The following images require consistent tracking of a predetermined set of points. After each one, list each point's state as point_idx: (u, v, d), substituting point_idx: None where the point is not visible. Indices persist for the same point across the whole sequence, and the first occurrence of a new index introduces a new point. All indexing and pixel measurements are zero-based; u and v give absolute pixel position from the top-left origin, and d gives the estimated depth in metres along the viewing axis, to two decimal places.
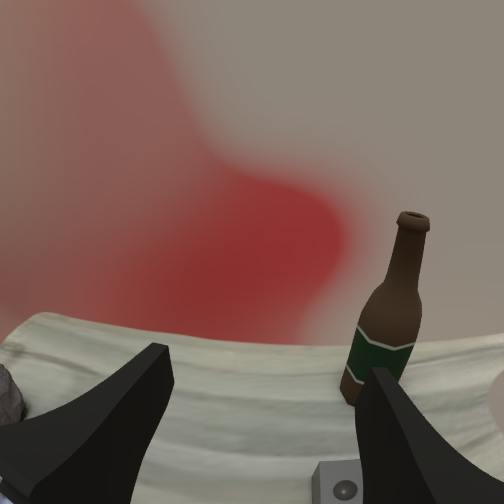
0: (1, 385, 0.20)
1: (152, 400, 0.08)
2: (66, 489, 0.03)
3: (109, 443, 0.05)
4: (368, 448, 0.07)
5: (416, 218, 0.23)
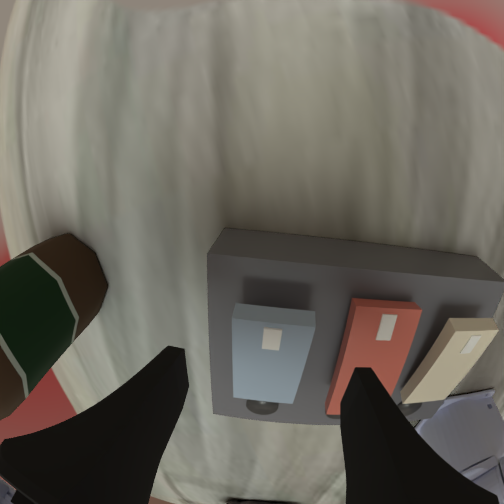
0: None
1: (169, 404, 0.08)
2: (89, 501, 0.03)
3: (129, 451, 0.05)
4: (351, 448, 0.07)
5: None
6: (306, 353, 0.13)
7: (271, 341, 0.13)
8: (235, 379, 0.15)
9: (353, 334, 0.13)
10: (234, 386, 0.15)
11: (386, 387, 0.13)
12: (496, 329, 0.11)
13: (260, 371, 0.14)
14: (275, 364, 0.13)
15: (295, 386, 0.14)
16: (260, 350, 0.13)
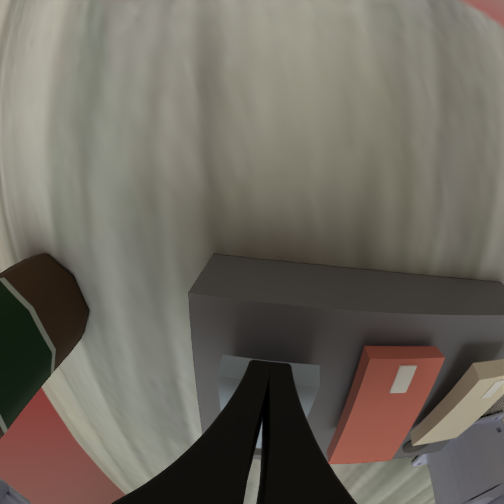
0: None
1: (260, 421, 0.08)
2: None
3: (247, 479, 0.05)
4: (262, 445, 0.07)
5: None
6: (307, 410, 0.10)
7: None
8: None
9: (364, 388, 0.10)
10: None
11: (396, 436, 0.10)
12: None
13: None
14: None
15: None
16: None
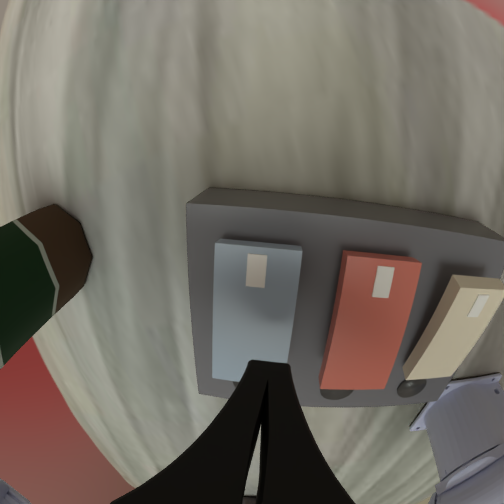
0: None
1: (259, 421, 0.08)
2: None
3: (246, 479, 0.05)
4: (262, 445, 0.07)
5: None
6: (295, 293, 0.12)
7: (256, 275, 0.12)
8: (215, 344, 0.13)
9: (346, 290, 0.12)
10: (213, 357, 0.13)
11: (387, 356, 0.12)
12: None
13: (243, 326, 0.13)
14: (261, 314, 0.12)
15: (285, 353, 0.13)
16: (243, 291, 0.12)
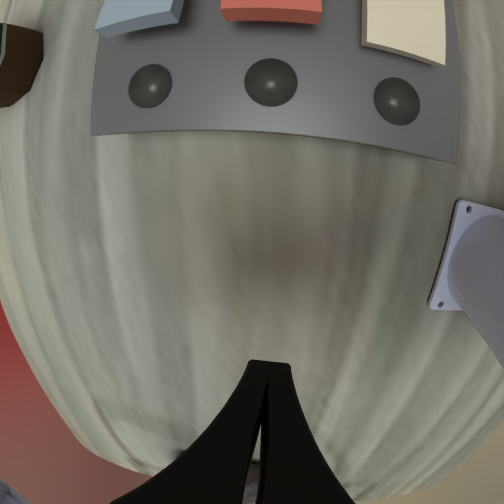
0: None
1: (259, 421, 0.08)
2: None
3: (246, 478, 0.05)
4: (262, 445, 0.07)
5: None
6: None
7: None
8: None
9: None
10: (103, 6, 0.07)
11: None
12: None
13: None
14: None
15: None
16: None
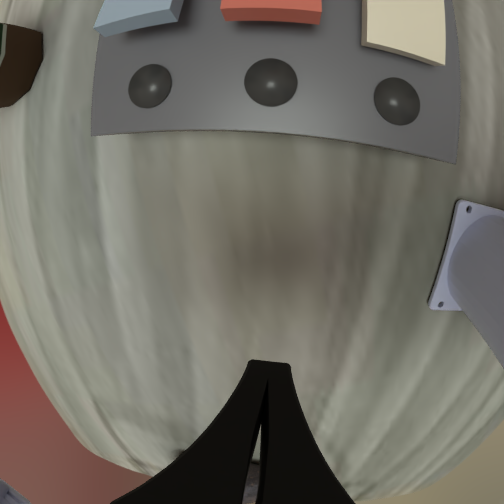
0: None
1: (259, 421, 0.08)
2: None
3: (246, 478, 0.05)
4: (262, 445, 0.07)
5: None
6: None
7: None
8: None
9: None
10: (103, 5, 0.07)
11: None
12: None
13: None
14: None
15: None
16: None
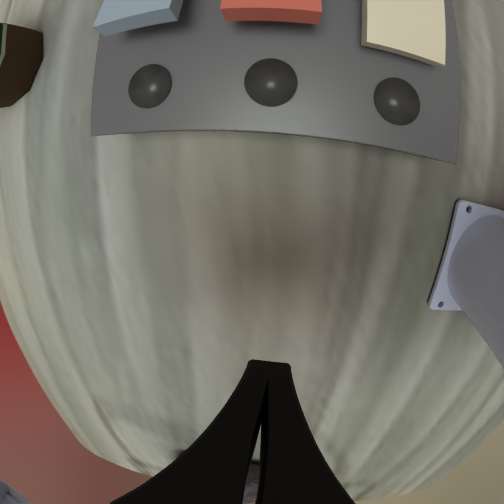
0: None
1: (259, 421, 0.08)
2: None
3: (246, 478, 0.05)
4: (262, 445, 0.07)
5: None
6: None
7: None
8: None
9: None
10: (103, 5, 0.07)
11: None
12: None
13: None
14: None
15: None
16: None
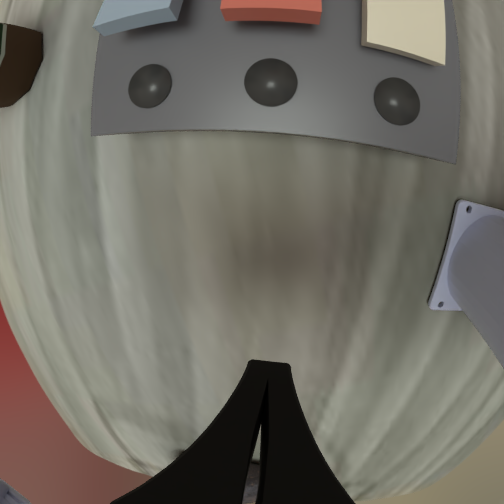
0: None
1: (259, 421, 0.08)
2: None
3: (246, 478, 0.05)
4: (262, 445, 0.07)
5: None
6: None
7: None
8: None
9: None
10: (103, 4, 0.07)
11: None
12: None
13: None
14: None
15: None
16: None
